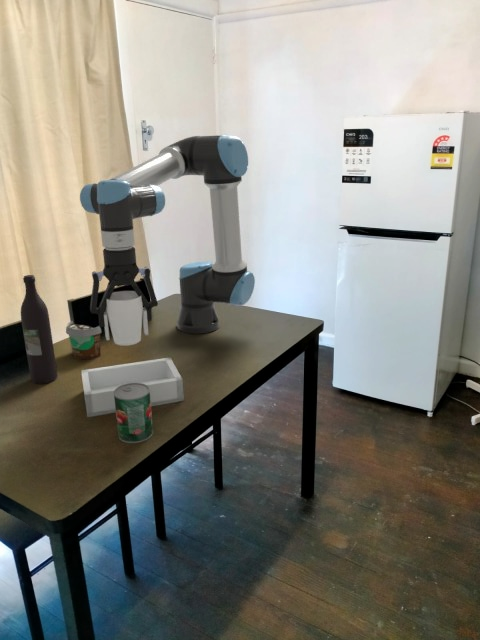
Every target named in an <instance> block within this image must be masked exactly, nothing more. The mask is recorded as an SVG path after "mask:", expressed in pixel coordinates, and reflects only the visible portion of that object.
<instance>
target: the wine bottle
mask: <svg viewBox="0 0 480 640" xmlns="http://www.w3.org/2000/svg"><path fill="white" fill-rule="evenodd" d="M22 279H23V283H24V287H25V295H24V299H23V301H22V304H21V306H20V321H21V326H22V332H23V339H24V345H25V351H26V357H27V363H28V370H29V374H30V375H29V377H30V380H31V382H32V383H33V384H39V385H43V384H49V383H52V382H53V381H55V380H57V378H58V371H57V370H58V369H57V364H56V363H57V362H56V355H55V349H54V343H53V335H52V334H53V333H52V329H51V321H50V314H49V311H48V307H47V305H46V303H45V302H44V300H43V298H42V297H41V296H40V295H39V293H38V291H37V287H36V277H35V275H34V274H27V275H24V276H23V278H22Z"/></svg>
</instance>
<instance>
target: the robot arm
mask: <svg viewBox="0 0 480 640" xmlns="http://www.w3.org/2000/svg"><path fill="white" fill-rule="evenodd" d="M248 166H249V155H248V150H247V147H246V145H245V143H244V142H243V141H242V139H241V138H239V136H238V137H237V136H235V135H227V134H219V135H217V134H216V135H194V136H190V137H189V136H188V137H185V138H183V139H180V140H178V141H176V142H173V143H172V144H170V145H168V146H165V147H163V148H162V149H161V150H160V151H159V153H158V154H157V155H155V156H153V157H151V158H150V159H148V160H145V161H144V162H142V163H140V164H137V165H136V166H134V167H132V168H129V169H128V170H125V171H124V172H122V173H120V174H118V175H116V176H114V177H112V178H110V179H103V180H100V181H98V183H96V182H95V183H87V184H85V185H84V186H83V187H82V188H81V190H80V193H79V200H80V201H79V202H80V204H81V207H82V209H83V210H84V211H85V212H88V213H90V214H96V215H98V216H99V225H100V234H101V236H100V237H101V245H102V247H103V250H102V255H103V265H104V267H103V270H100V271H92V272H91V276H92V281H93V282H92V290H91V297H90V305H89V310H90V313H91V314H92V315H93V314H96V315H98V324H99V326H100V328H103V327H104V334H105V340H106V341H110V330H109V320H108V316H107V312H106V307H107V299H108V300H109V299H110V297H111V294H112V293H113V292H114V290H115V288H116V287H122V286H127V287H128V286H131V287H132V289H133V291H135V292H136V293H137V295H138V296H139V297H140V296H141V298H142V303H143V306H144V307H143V314H142V325H143V327H142V328H143V333H144V336H148V335H150V334H149V325H148V324H149V323H148V322H151V321H152V308H154V307H157V306H158V305H159V303H158V299H157V296H156V293H155V290H154V287H153V284H152V280H151V270H150V268H149V267H148V266H144V267H138V265H137V255H136V248H135V247H134V245H136V243H135V235H134V234H135V233H134V231H135V230H134V221H133V220H135V219H140V218H145V217H152V216H155V215H158V214H159V213H161V212H163V210H164V208H165V207H166V196H165V193H164V191H163V189H161V187H159V186H161V185H162V184H163V183H165V182H167V181H168V180H171V179H172V180H173V179H174V180H175V179H179V178H181V177H183V176H185V177H186V176H201V177H202V176H203V182H204V183H203V184H204V185H206V186H207V187H208V188H209V195H210V207H211V208H210V209H211V217H212V218H211V219H212V229H213V242H214V252H215V253H214V254H215V262H214V263H213V261H212V262H211V261H207V260H206V261H196V262H190V263H186V264H184V265H182V266H181V267H180V268H179V277H178V280H179V288H180V289H179V292H180V310H179V313H178V317H177V319H176V320H177V321H176V324H177V326H176V327H177V329H178V330H179V331H180V332H183V333H186V334H206V333H210V332H211V333H212V332H214V331H215V330H218V329H219V328H220V318H219V315H218V312H217V309H216V307H215V303H218V304H225V305H230V306H244V305H246V304H247V303H248V302H249V300H250V299H251V298H252V294H253V292H254V289H255V282H256V279H255V278H256V277H255V275H254V273H253V272H251V271H249V270H248V264H247V263H246V262H245V261H244V260H243V257H242V243H241V242H242V241H241V225H240V211H239V210H240V208H239V194H238V191H239V190H238V186H239V185H240V183H241V182H242V177H243V176H245V175H246V173H247V171H248ZM139 273H140V277H142V278H143V281H144V282H145V283H144V284H145V286H146V288H147V289H146V290H147V292H148V295H149V298H150V301H148V300H147V298H146V296H145V295H144V294H143V292H142V290H141V289H140V287H139V285H138V284H137V282H136V281H135V279H136V277H138V276H137V275H138V274H139ZM103 277H105V278H106V279H107V280H108V281H107V285H106V286H107V287H106V288H105V290H104V291H105V292H104V293H103V296H102V298H101V301H100V302H99V306H98V298H99V290H100V282H101V281H103Z"/></svg>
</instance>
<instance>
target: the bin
mask: <svg viewBox="0 0 480 640" xmlns="http://www.w3.org/2000/svg"><path fill="white" fill-rule="evenodd" d="M80 372H81V380H82V388H83V395H84V404H85V410H86V418H91V417H92V418H94V417H97V416H98V417H99V416H103V415H104V416H105V415H110V414H114V413H115V414H116V408H115V399H114V390H115V389H116V388H118V387H119V386H121V385H124V384H128V383H142V384H145V385H147V386H148V387H149V388H150V400H151V407H154V406H155V407H156V406H162V405H166V404H171V403H177V402H178V403H179V402H183V401H184V400H185V399H184V397H185V395H184V380H183V377H182V375H181V374H180V373H179V372H180V371H178V369H177V367H176V365H175V363H174V362H173V360H172V358H171V357H163V358H155V359H150V360H144V361H143V360H142V361H136V362H131V363H123V364H116V365H109V366H104V367H96V368H88V369H81V370H80Z"/></svg>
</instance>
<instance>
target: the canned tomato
mask: <svg viewBox="0 0 480 640" xmlns="http://www.w3.org/2000/svg"><path fill="white" fill-rule="evenodd" d="M114 399H115V408H116V412H115V415H116V416H115V417H116V425H117V426H116V427H117V434H118V435H117V436H118V439H119V440H120V441H121V442H124V443H125V444H138V443H142V442H145V441H148V440H149V439H150V438H151V437H152V436H153V434H154V427H153V415H152V406H151V400H150V388H149V387H148V386H147V385H145V384H142V383H128V384H124V385H121V386H119V387H118V388H116V389H115V390H114Z"/></svg>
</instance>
